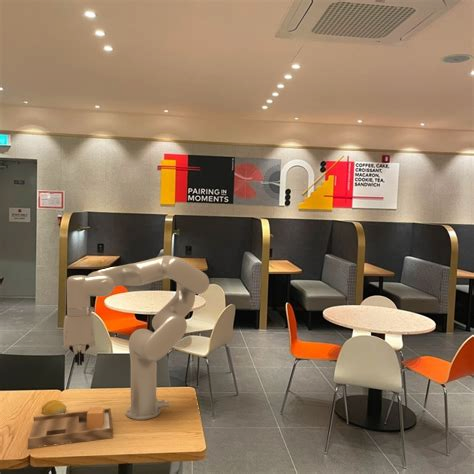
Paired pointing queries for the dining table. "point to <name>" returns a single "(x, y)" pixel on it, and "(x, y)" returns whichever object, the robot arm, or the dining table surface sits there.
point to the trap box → (67, 429)
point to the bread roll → (53, 407)
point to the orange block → (95, 417)
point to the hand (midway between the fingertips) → (79, 364)
